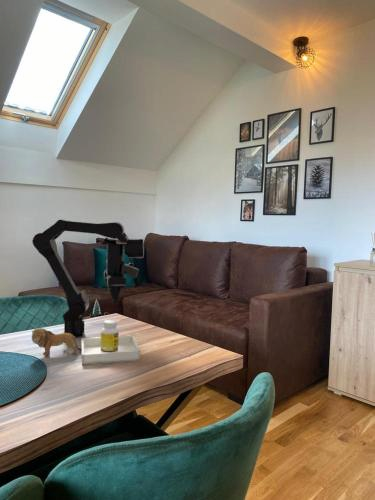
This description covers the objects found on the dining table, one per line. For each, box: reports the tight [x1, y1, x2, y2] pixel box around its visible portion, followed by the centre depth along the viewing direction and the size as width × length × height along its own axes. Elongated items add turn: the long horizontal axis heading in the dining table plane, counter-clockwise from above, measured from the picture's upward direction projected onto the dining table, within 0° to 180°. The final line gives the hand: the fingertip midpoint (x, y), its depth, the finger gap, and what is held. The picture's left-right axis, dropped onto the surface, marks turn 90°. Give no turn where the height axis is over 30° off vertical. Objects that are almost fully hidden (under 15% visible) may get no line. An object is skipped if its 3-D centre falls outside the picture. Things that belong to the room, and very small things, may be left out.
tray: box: [80, 334, 141, 366], centre depth 119 cm, size 17×15×3 cm
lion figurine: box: [31, 327, 81, 358], centre depth 116 cm, size 15×5×9 cm, turn 116°
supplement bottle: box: [100, 319, 120, 353], centre depth 119 cm, size 5×5×10 cm
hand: (114, 300), depth 136 cm, fingers open, 9 cm apart
